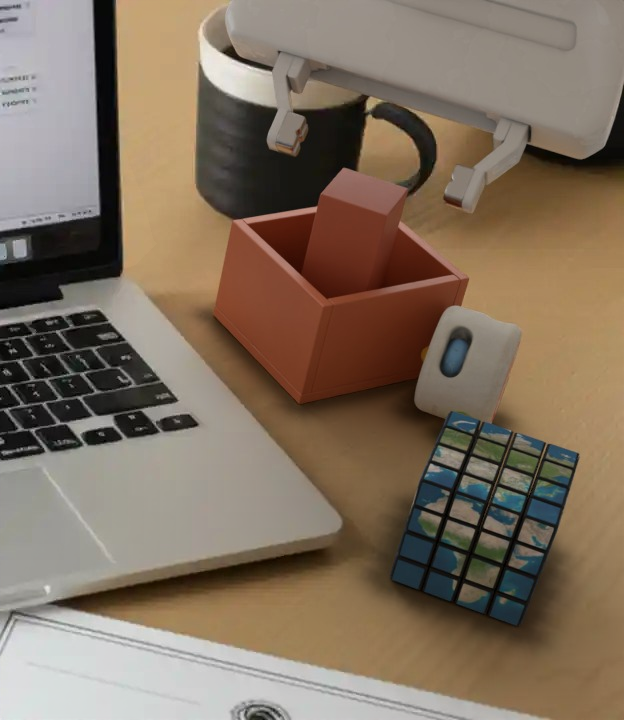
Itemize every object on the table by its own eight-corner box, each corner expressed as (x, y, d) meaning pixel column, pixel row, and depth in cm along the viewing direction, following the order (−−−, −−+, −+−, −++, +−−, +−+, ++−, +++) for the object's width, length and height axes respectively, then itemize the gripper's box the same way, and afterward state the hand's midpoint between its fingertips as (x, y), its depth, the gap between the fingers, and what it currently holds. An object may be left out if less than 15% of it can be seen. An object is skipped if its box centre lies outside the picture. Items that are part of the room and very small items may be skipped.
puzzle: (519, 629, 73) (558, 526, 70) (388, 580, 75) (419, 478, 72) (543, 551, 78) (581, 451, 75) (418, 507, 80) (450, 408, 76)
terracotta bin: (348, 288, 96) (372, 196, 92) (440, 373, 89) (470, 278, 86) (212, 314, 92) (231, 219, 89) (299, 404, 86) (323, 306, 82)
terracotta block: (308, 309, 92) (343, 166, 87) (370, 331, 91) (409, 188, 86) (285, 338, 90) (320, 193, 85) (348, 361, 88) (387, 216, 83)
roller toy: (393, 427, 85) (420, 334, 82) (423, 367, 90) (450, 277, 86) (478, 457, 84) (509, 363, 80) (504, 394, 88) (535, 303, 85)
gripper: (274, -142, 87) (169, 93, 85) (673, -41, 79) (566, 219, 78) (289, -82, 92) (191, 139, 91) (661, 17, 85) (562, 259, 83)
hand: (367, 177), depth 84 cm, fingers open, 8 cm apart
